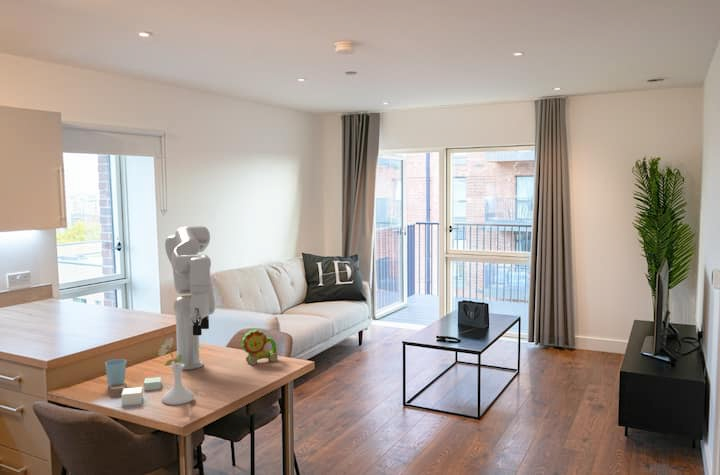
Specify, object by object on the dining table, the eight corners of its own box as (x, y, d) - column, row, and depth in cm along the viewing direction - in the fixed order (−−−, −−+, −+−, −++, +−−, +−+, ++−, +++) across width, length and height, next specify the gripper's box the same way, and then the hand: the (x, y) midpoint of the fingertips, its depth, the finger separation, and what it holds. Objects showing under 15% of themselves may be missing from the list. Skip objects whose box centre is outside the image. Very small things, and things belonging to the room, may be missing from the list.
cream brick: (124, 399, 208) (123, 388, 208) (142, 397, 210) (142, 386, 209) (121, 405, 202) (121, 394, 201) (141, 403, 203) (140, 392, 203)
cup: (114, 392, 217) (114, 365, 217) (101, 389, 221) (100, 363, 220) (131, 386, 224) (130, 360, 223) (117, 383, 228) (116, 358, 227)
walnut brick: (112, 394, 215) (112, 384, 215) (126, 393, 217) (126, 383, 216) (110, 399, 211) (110, 389, 210) (124, 398, 212) (124, 387, 212)
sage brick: (145, 388, 223) (144, 378, 222) (161, 386, 225) (161, 376, 224) (144, 393, 217) (143, 383, 217) (160, 391, 219) (160, 381, 219)
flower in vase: (181, 394, 216) (179, 330, 214) (200, 400, 209) (199, 334, 207) (151, 404, 205) (149, 337, 203) (171, 412, 198) (169, 342, 196)
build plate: (119, 400, 209) (119, 397, 209) (148, 397, 212) (148, 395, 212) (115, 410, 200) (115, 407, 199) (145, 407, 202) (145, 404, 202)
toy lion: (273, 358, 263) (273, 326, 261) (278, 361, 258) (277, 328, 257) (240, 363, 255) (240, 330, 253) (244, 366, 250) (244, 333, 249)
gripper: (197, 284, 228) (198, 326, 229) (183, 292, 211) (184, 337, 212) (215, 285, 228) (216, 326, 229) (203, 293, 211) (204, 337, 212)
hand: (201, 331), depth 221 cm, fingers open, 9 cm apart
